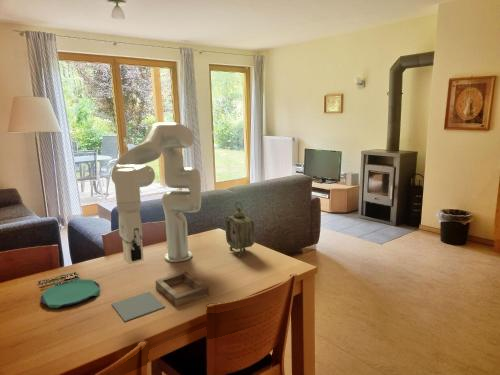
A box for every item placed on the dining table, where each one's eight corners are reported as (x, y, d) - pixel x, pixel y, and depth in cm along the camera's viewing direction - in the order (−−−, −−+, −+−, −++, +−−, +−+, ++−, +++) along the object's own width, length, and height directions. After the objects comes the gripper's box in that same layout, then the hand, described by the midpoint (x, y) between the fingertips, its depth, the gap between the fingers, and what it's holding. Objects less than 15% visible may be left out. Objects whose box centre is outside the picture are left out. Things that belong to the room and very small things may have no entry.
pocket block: (156, 287, 139) (155, 280, 139) (186, 277, 147) (185, 271, 146) (176, 306, 125) (176, 298, 124) (208, 294, 133) (208, 287, 132)
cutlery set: (47, 317, 121) (46, 311, 120) (32, 285, 144) (31, 280, 143) (107, 297, 133) (106, 292, 133) (84, 271, 156) (84, 266, 155)
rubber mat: (111, 304, 127) (111, 303, 127) (149, 292, 135) (149, 291, 135) (124, 321, 116) (124, 320, 116) (165, 307, 125) (165, 306, 124)
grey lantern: (226, 249, 177) (224, 200, 172) (242, 245, 181) (241, 197, 176) (238, 259, 165) (237, 206, 160) (256, 255, 169) (255, 204, 164)
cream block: (124, 259, 123) (122, 240, 121) (138, 255, 126) (136, 237, 124) (129, 264, 119) (127, 244, 118) (143, 260, 122) (142, 240, 120)
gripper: (109, 202, 123) (114, 253, 127) (126, 213, 110) (131, 268, 113) (131, 199, 127) (135, 248, 131) (150, 208, 114) (154, 262, 118)
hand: (133, 256), depth 122 cm, fingers closed on cream block, 5 cm apart
